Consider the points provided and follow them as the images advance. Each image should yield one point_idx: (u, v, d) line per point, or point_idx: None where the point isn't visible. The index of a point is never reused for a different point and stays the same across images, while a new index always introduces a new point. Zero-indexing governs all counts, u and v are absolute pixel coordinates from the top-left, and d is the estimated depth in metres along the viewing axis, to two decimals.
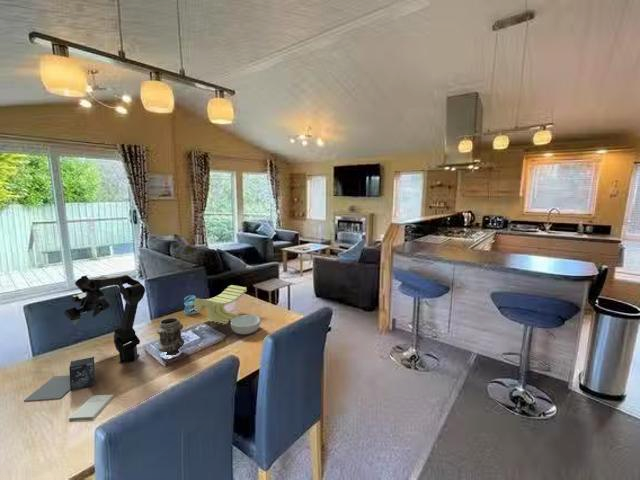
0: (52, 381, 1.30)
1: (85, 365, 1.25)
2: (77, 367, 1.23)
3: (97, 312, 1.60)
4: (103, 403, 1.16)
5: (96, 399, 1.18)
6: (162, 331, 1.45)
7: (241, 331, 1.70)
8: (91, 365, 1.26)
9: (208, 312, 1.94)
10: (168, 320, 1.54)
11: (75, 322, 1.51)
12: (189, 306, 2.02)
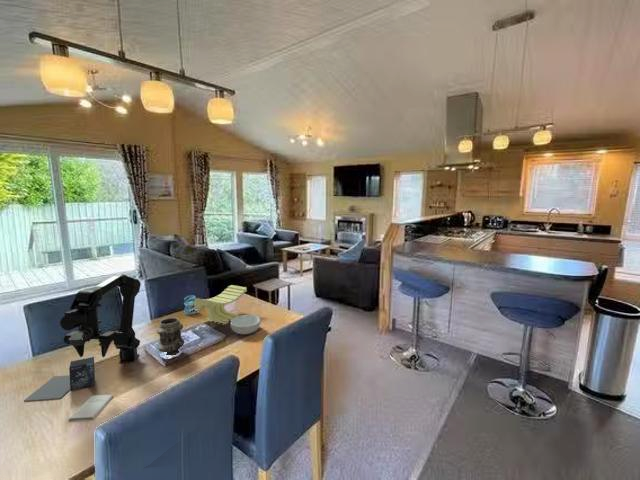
0: (52, 381, 1.30)
1: (85, 365, 1.25)
2: (77, 367, 1.23)
3: (82, 345, 1.27)
4: (103, 403, 1.16)
5: (96, 399, 1.18)
6: (162, 331, 1.45)
7: (241, 331, 1.70)
8: (91, 365, 1.26)
9: (208, 312, 1.94)
10: (168, 320, 1.54)
11: (107, 348, 1.27)
12: (189, 306, 2.02)
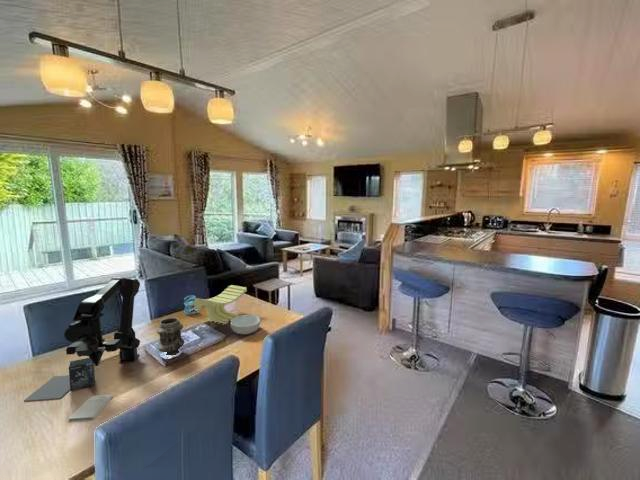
0: (52, 381, 1.30)
1: (84, 365, 1.25)
2: (76, 367, 1.23)
3: None
4: (102, 403, 1.16)
5: (95, 399, 1.18)
6: (162, 331, 1.45)
7: (241, 331, 1.70)
8: (90, 365, 1.26)
9: (208, 312, 1.94)
10: (168, 320, 1.54)
11: None
12: (189, 306, 2.02)
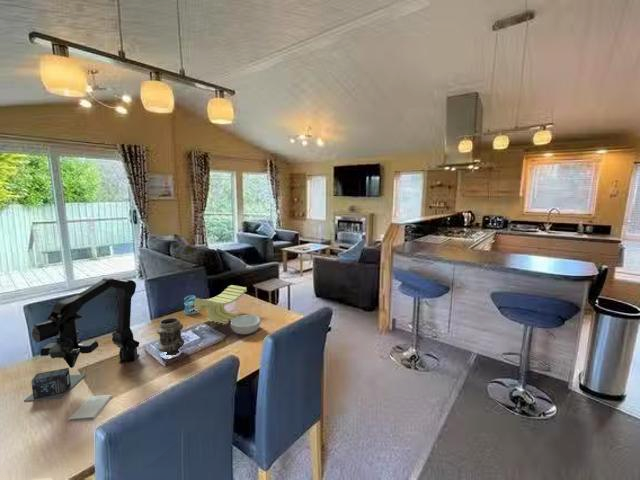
0: None
1: (33, 386, 1.18)
2: (35, 393, 1.18)
3: None
4: (102, 403, 1.16)
5: (94, 400, 1.18)
6: (162, 331, 1.45)
7: (241, 331, 1.70)
8: (34, 381, 1.18)
9: (208, 312, 1.94)
10: (168, 320, 1.54)
11: (76, 359, 1.27)
12: (189, 306, 2.02)
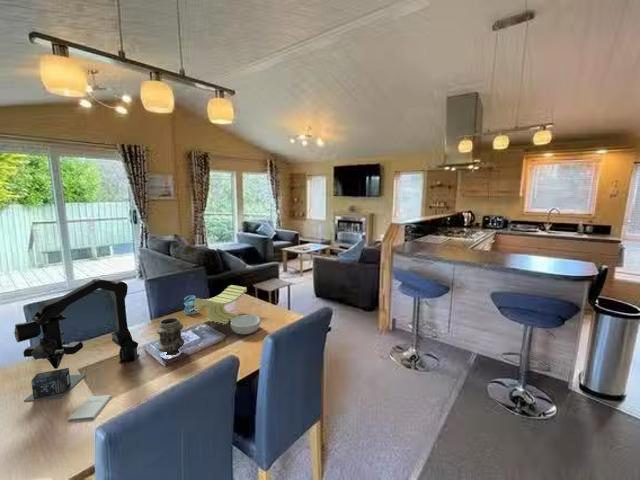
0: None
1: (33, 386, 1.18)
2: (35, 393, 1.18)
3: None
4: (102, 403, 1.16)
5: (94, 400, 1.18)
6: (162, 331, 1.45)
7: (241, 331, 1.70)
8: (34, 381, 1.18)
9: (208, 312, 1.94)
10: (168, 320, 1.54)
11: None
12: (189, 306, 2.02)
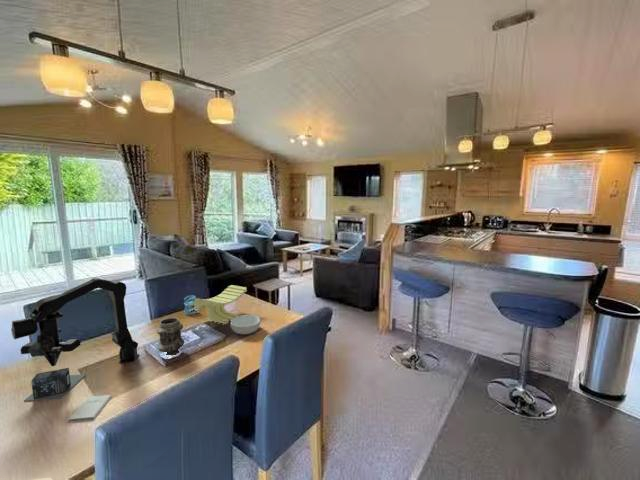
0: None
1: (33, 386, 1.18)
2: (35, 393, 1.18)
3: None
4: (102, 403, 1.16)
5: (94, 400, 1.18)
6: (162, 331, 1.45)
7: (241, 331, 1.70)
8: (34, 381, 1.18)
9: (208, 312, 1.94)
10: (168, 320, 1.54)
11: (58, 357, 1.26)
12: (189, 306, 2.02)
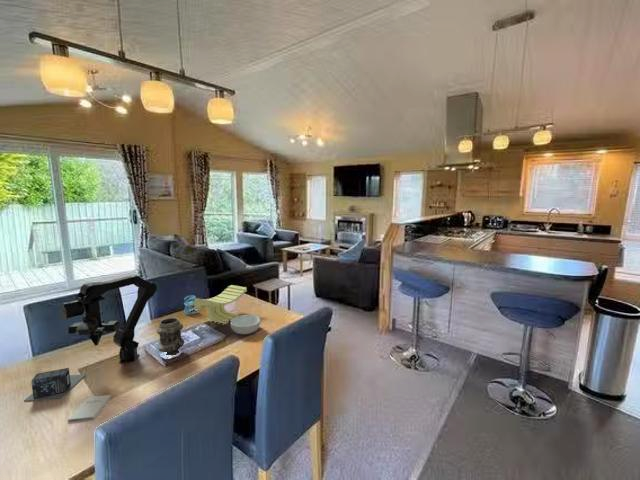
0: None
1: (33, 386, 1.18)
2: (35, 393, 1.18)
3: None
4: (102, 403, 1.16)
5: (93, 400, 1.17)
6: (162, 331, 1.45)
7: (241, 331, 1.70)
8: (34, 381, 1.18)
9: (208, 312, 1.94)
10: (168, 320, 1.54)
11: (100, 337, 1.37)
12: (189, 306, 2.02)
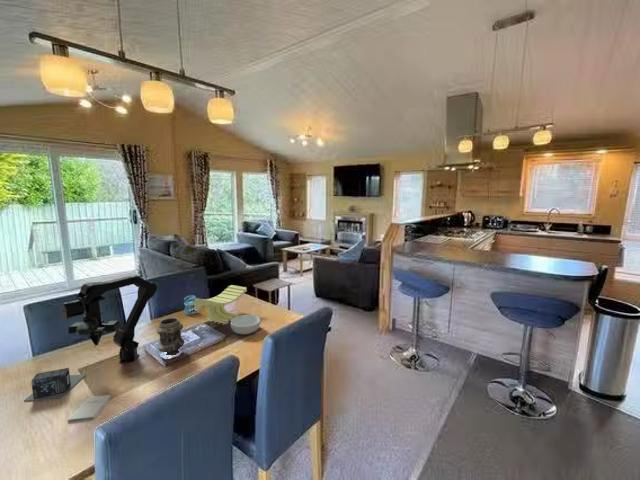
0: None
1: (33, 386, 1.18)
2: (35, 393, 1.18)
3: None
4: (101, 403, 1.16)
5: (93, 400, 1.17)
6: (162, 331, 1.45)
7: (241, 331, 1.70)
8: (34, 381, 1.18)
9: (208, 312, 1.94)
10: (168, 320, 1.54)
11: (100, 337, 1.37)
12: (189, 306, 2.02)
